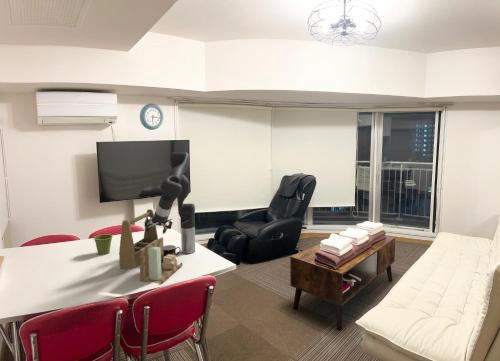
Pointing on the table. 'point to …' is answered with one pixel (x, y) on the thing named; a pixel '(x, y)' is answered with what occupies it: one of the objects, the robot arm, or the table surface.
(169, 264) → the offcut
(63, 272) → the table surface
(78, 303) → the table surface
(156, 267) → the sage green pillar
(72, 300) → the table surface
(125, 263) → the caddy
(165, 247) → the coffee mug
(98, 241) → the plant pot
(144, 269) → the rack
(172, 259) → the offcut
